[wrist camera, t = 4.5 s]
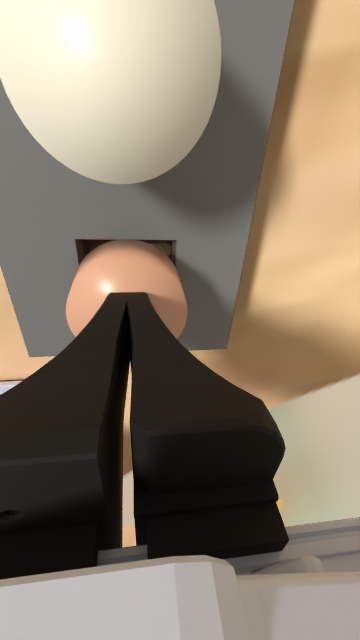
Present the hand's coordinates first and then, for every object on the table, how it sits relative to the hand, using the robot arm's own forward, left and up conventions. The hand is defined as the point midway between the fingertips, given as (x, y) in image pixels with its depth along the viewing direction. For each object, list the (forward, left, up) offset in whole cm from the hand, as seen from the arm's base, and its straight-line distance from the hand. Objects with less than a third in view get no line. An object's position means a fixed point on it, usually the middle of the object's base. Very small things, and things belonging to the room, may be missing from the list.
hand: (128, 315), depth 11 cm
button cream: (+7, 0, -2) cm, 7 cm away
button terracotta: (0, 0, -3) cm, 3 cm away
